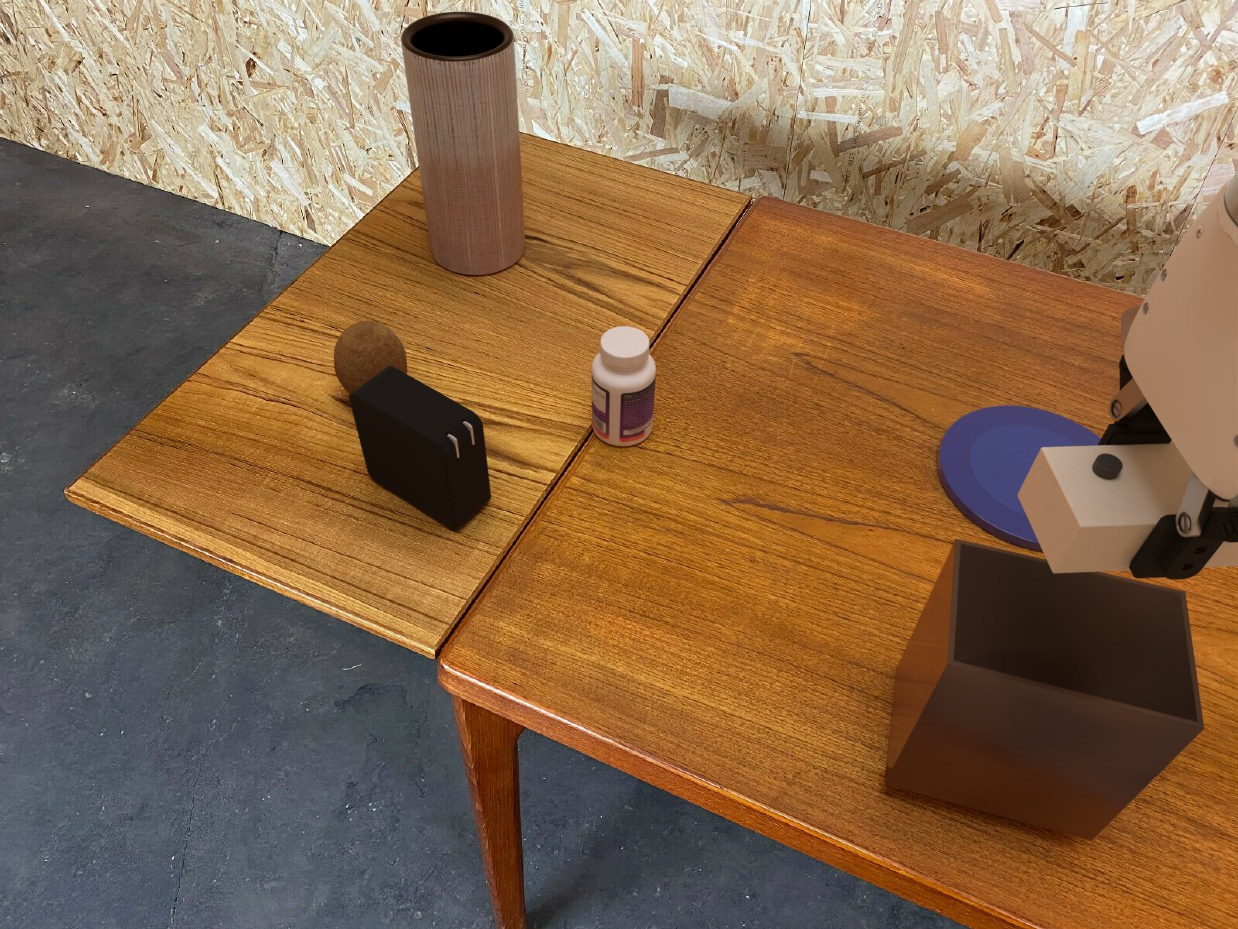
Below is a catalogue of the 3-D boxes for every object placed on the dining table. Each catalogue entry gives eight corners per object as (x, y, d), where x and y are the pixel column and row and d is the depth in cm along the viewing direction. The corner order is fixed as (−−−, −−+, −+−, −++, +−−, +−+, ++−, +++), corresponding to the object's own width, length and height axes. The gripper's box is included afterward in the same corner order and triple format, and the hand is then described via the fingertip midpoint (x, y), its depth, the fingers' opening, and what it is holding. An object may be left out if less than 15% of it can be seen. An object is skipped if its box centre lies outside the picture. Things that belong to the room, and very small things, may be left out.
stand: (1086, 716, 66) (1185, 591, 55) (1091, 841, 60) (1204, 729, 49) (896, 668, 68) (955, 538, 57) (884, 784, 62) (947, 664, 51)
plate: (1125, 434, 85) (1129, 426, 84) (1139, 574, 74) (1144, 567, 74) (942, 397, 88) (945, 389, 87) (930, 527, 77) (933, 519, 76)
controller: (1203, 488, 50) (1244, 431, 46) (1253, 566, 46) (1300, 510, 43) (1016, 495, 49) (1045, 437, 46) (1052, 574, 46) (1086, 518, 42)
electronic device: (404, 449, 82) (385, 361, 74) (492, 503, 78) (482, 415, 70) (368, 478, 79) (345, 390, 72) (457, 535, 75) (443, 448, 68)
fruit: (329, 396, 86) (309, 326, 80) (385, 363, 89) (371, 294, 83) (370, 431, 83) (354, 361, 77) (427, 396, 86) (415, 327, 80)
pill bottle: (658, 410, 86) (664, 325, 78) (645, 453, 82) (651, 368, 75) (599, 400, 86) (600, 315, 79) (584, 442, 83) (584, 356, 76)
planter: (533, 226, 105) (523, 14, 88) (516, 281, 98) (501, 62, 81) (443, 218, 105) (416, 6, 89) (420, 272, 99) (386, 53, 82)
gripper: (1635, 357, 28) (1300, 673, 42) (1316, 89, 40) (1134, 404, 53) (1396, 364, 28) (1135, 681, 41) (1143, 90, 39) (1003, 407, 53)
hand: (1136, 522), depth 47 cm, fingers closed on controller, 5 cm apart
